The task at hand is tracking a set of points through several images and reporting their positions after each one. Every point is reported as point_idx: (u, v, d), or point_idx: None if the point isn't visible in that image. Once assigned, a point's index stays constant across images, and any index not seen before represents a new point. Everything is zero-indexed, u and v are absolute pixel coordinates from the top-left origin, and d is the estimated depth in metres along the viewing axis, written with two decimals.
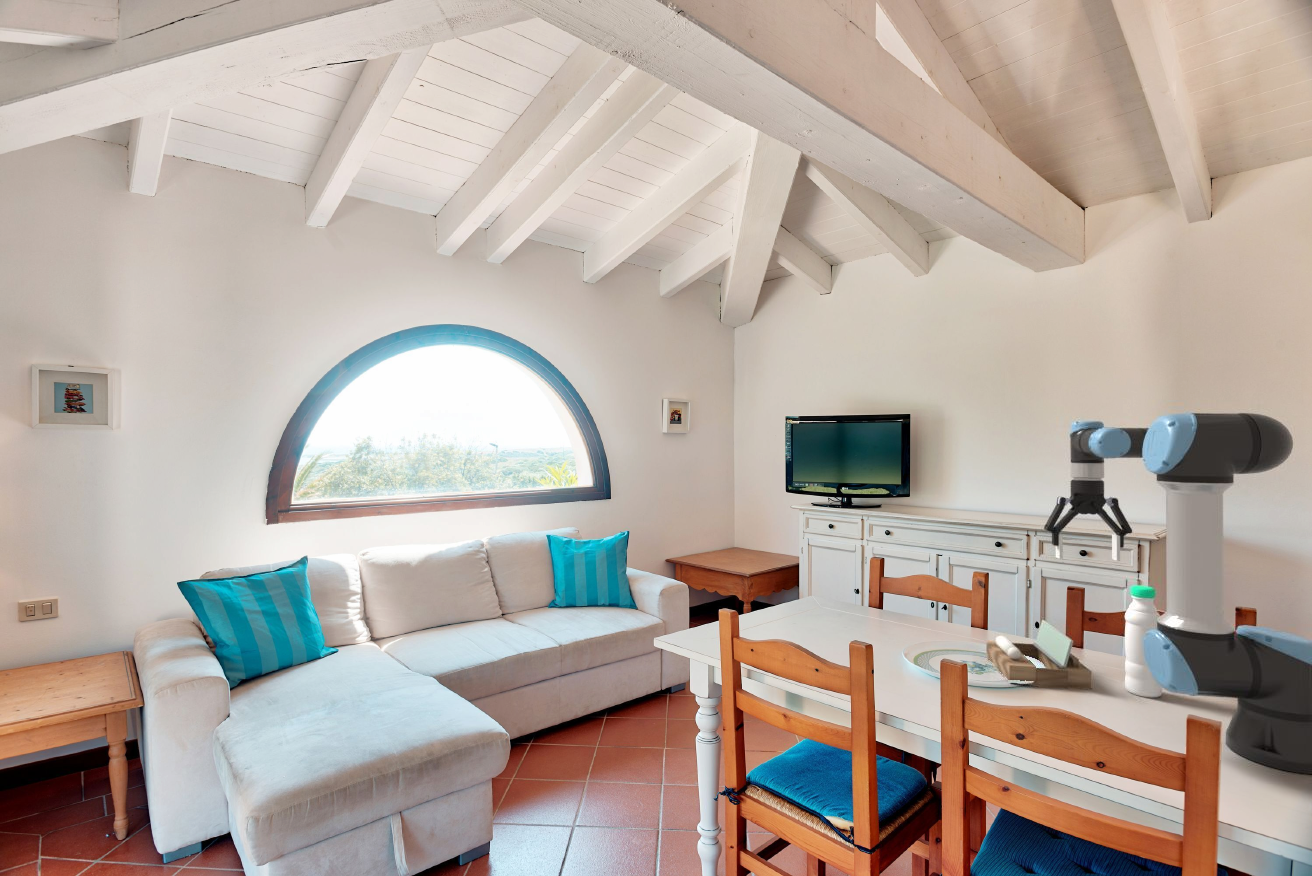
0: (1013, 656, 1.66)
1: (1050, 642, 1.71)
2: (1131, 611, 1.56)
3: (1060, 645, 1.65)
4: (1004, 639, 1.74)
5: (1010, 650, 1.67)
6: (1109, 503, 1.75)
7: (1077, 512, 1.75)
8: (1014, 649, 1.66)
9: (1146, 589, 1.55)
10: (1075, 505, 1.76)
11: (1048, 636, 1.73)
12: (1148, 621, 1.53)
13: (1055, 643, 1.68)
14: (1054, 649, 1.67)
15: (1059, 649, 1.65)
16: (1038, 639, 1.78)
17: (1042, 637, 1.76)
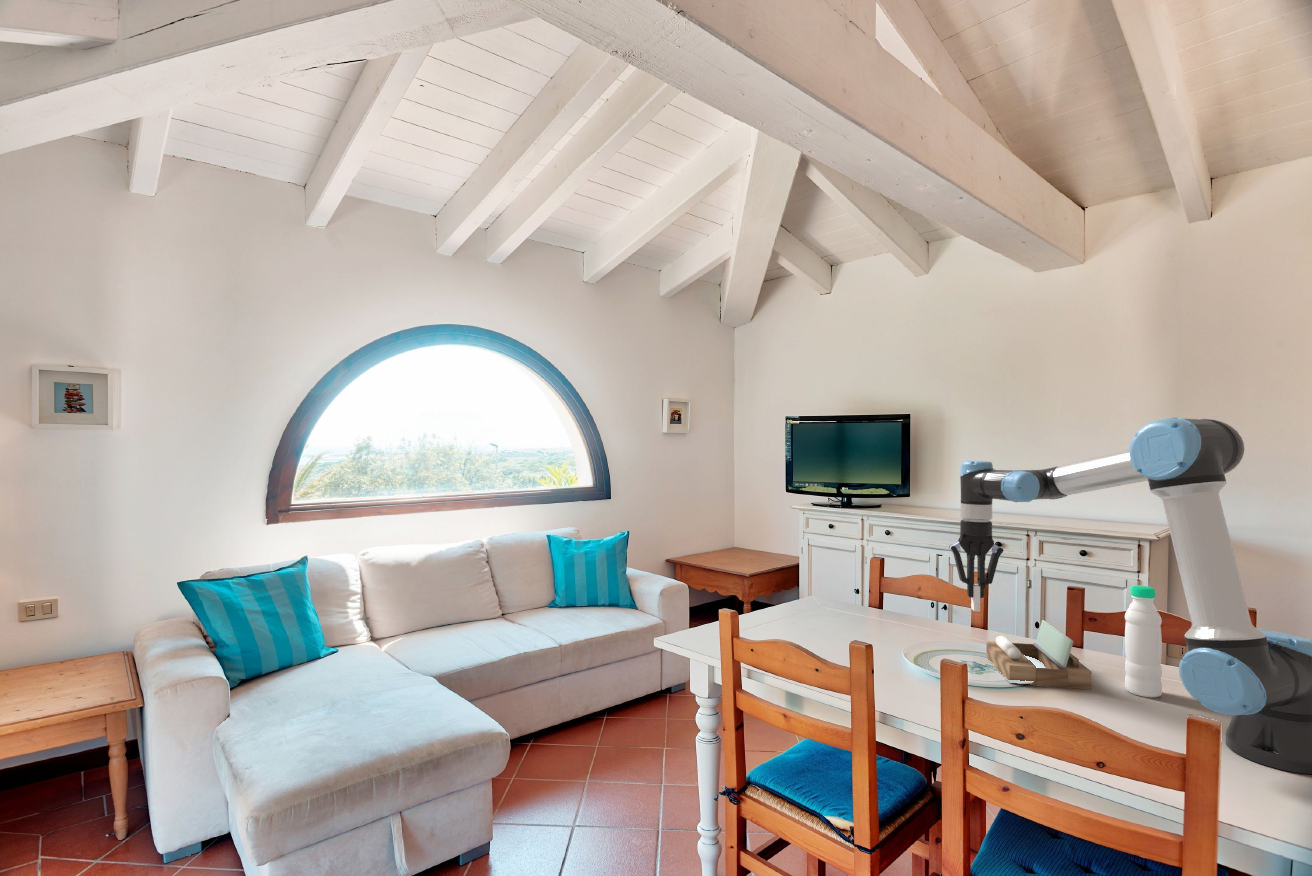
0: (1013, 656, 1.66)
1: (1050, 642, 1.71)
2: (1131, 611, 1.56)
3: (1060, 645, 1.65)
4: (1004, 639, 1.74)
5: (1010, 650, 1.67)
6: (994, 549, 1.72)
7: (973, 556, 1.72)
8: (1014, 649, 1.66)
9: (1146, 589, 1.55)
10: (963, 547, 1.73)
11: (1048, 636, 1.73)
12: (1148, 621, 1.53)
13: (1055, 643, 1.68)
14: (1054, 649, 1.67)
15: (1059, 649, 1.65)
16: (1038, 639, 1.78)
17: (1042, 637, 1.76)
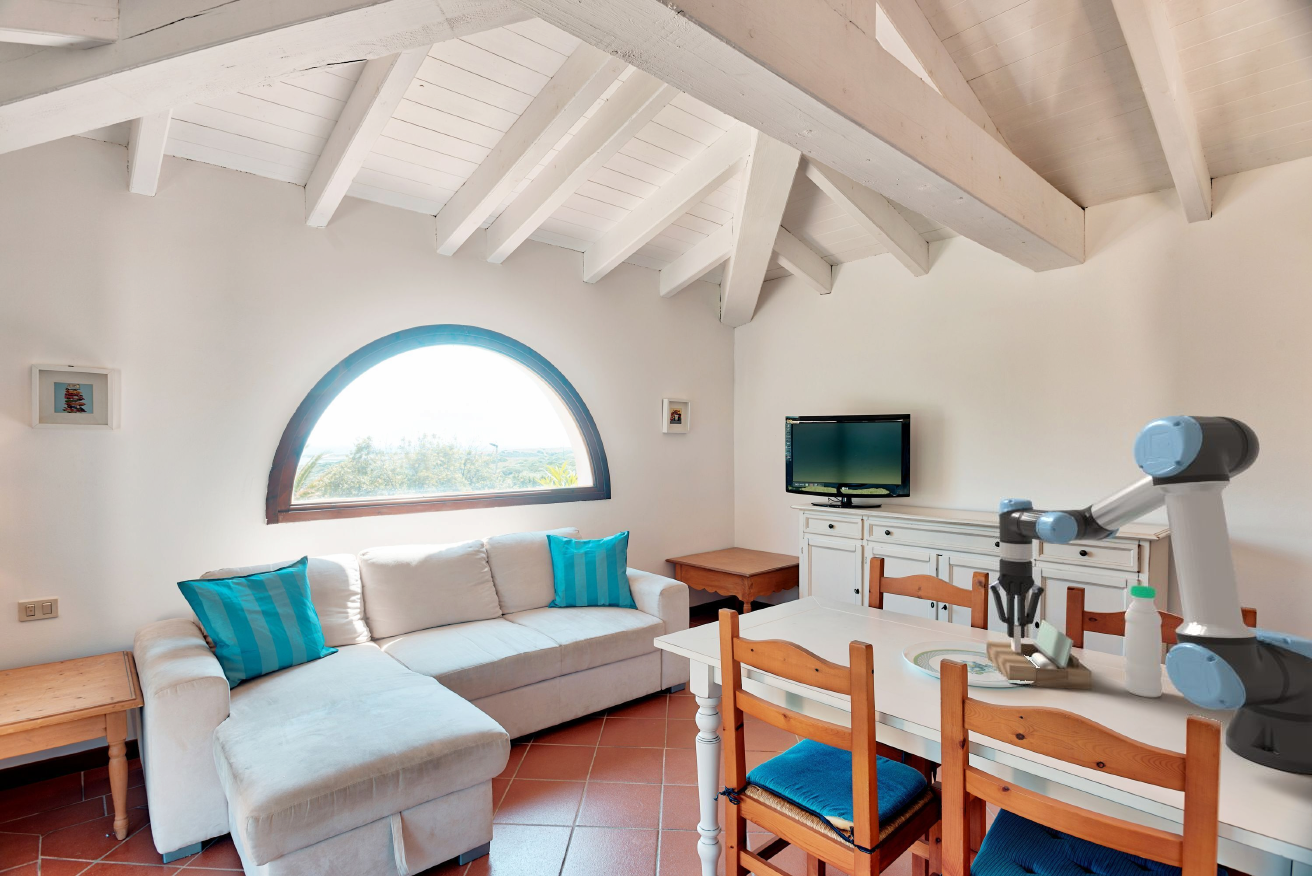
0: None
1: (1050, 642, 1.71)
2: (1131, 611, 1.56)
3: (1060, 645, 1.65)
4: (1042, 657, 1.72)
5: (1049, 668, 1.65)
6: (1034, 589, 1.70)
7: (1013, 596, 1.70)
8: (1054, 667, 1.64)
9: (1146, 589, 1.55)
10: (1003, 586, 1.71)
11: (1048, 636, 1.73)
12: (1148, 621, 1.53)
13: (1055, 643, 1.68)
14: (1054, 649, 1.67)
15: (1059, 649, 1.65)
16: (1038, 639, 1.78)
17: (1042, 637, 1.76)
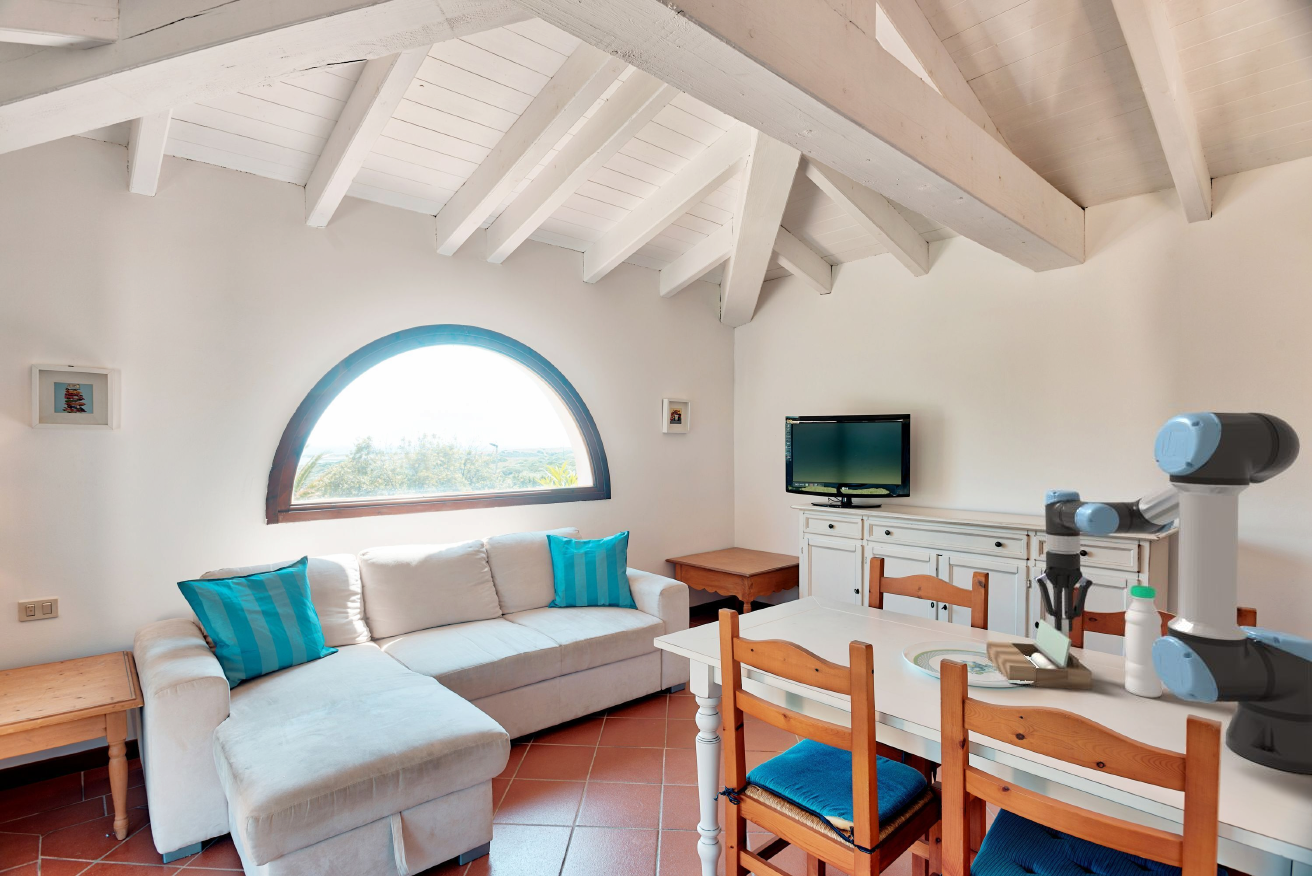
0: None
1: (1049, 642, 1.71)
2: (1131, 611, 1.56)
3: (1059, 645, 1.65)
4: (1042, 656, 1.72)
5: (1049, 668, 1.65)
6: (1082, 581, 1.68)
7: (1061, 589, 1.68)
8: (1053, 667, 1.64)
9: (1146, 589, 1.55)
10: (1050, 579, 1.69)
11: (1047, 636, 1.73)
12: (1148, 621, 1.53)
13: (1054, 643, 1.68)
14: (1053, 649, 1.67)
15: (1058, 649, 1.65)
16: (1038, 639, 1.78)
17: (1041, 637, 1.76)
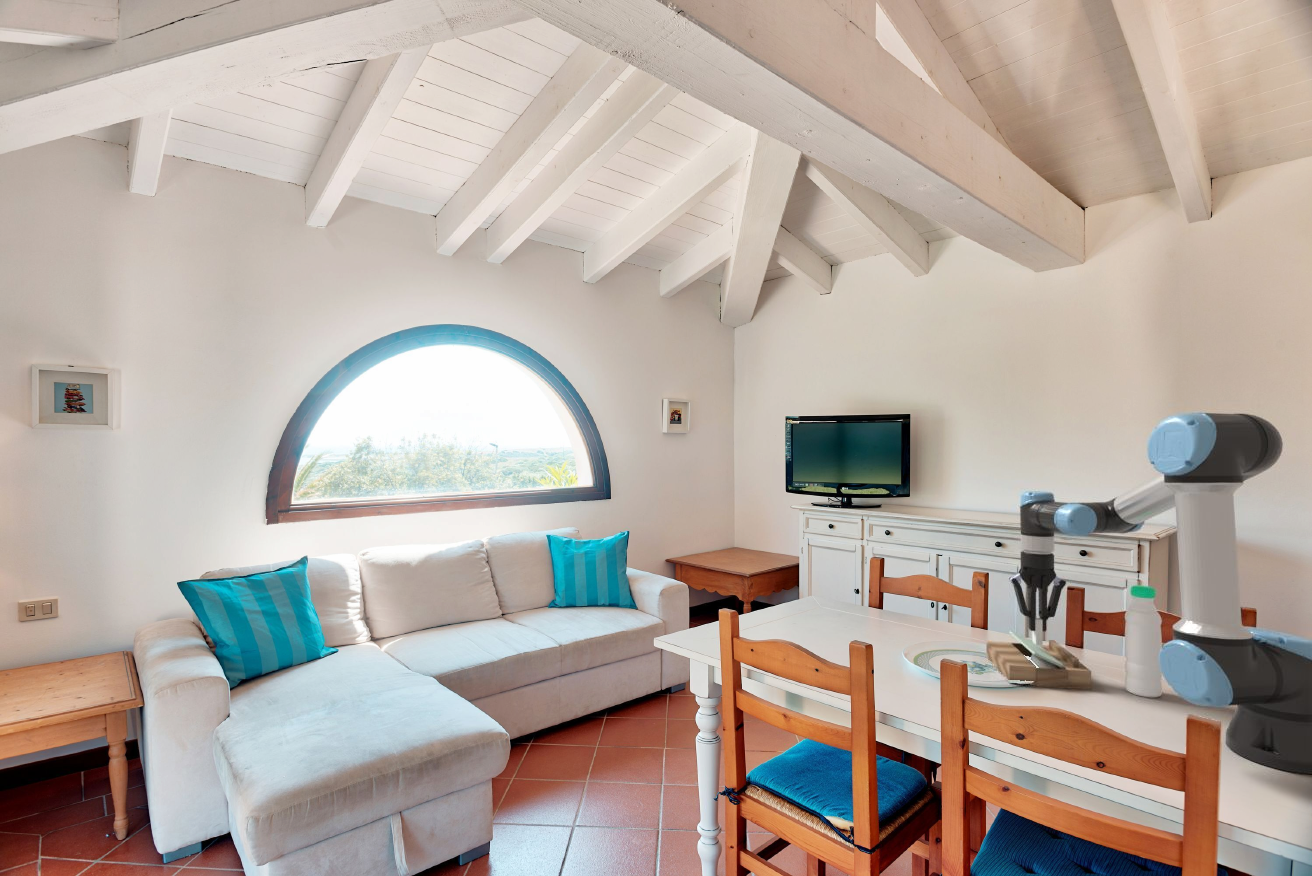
0: None
1: None
2: (1131, 611, 1.56)
3: None
4: None
5: None
6: (1056, 581, 1.69)
7: (1035, 589, 1.69)
8: (1053, 667, 1.64)
9: (1146, 589, 1.55)
10: (1024, 579, 1.70)
11: None
12: (1148, 621, 1.53)
13: None
14: None
15: None
16: None
17: None
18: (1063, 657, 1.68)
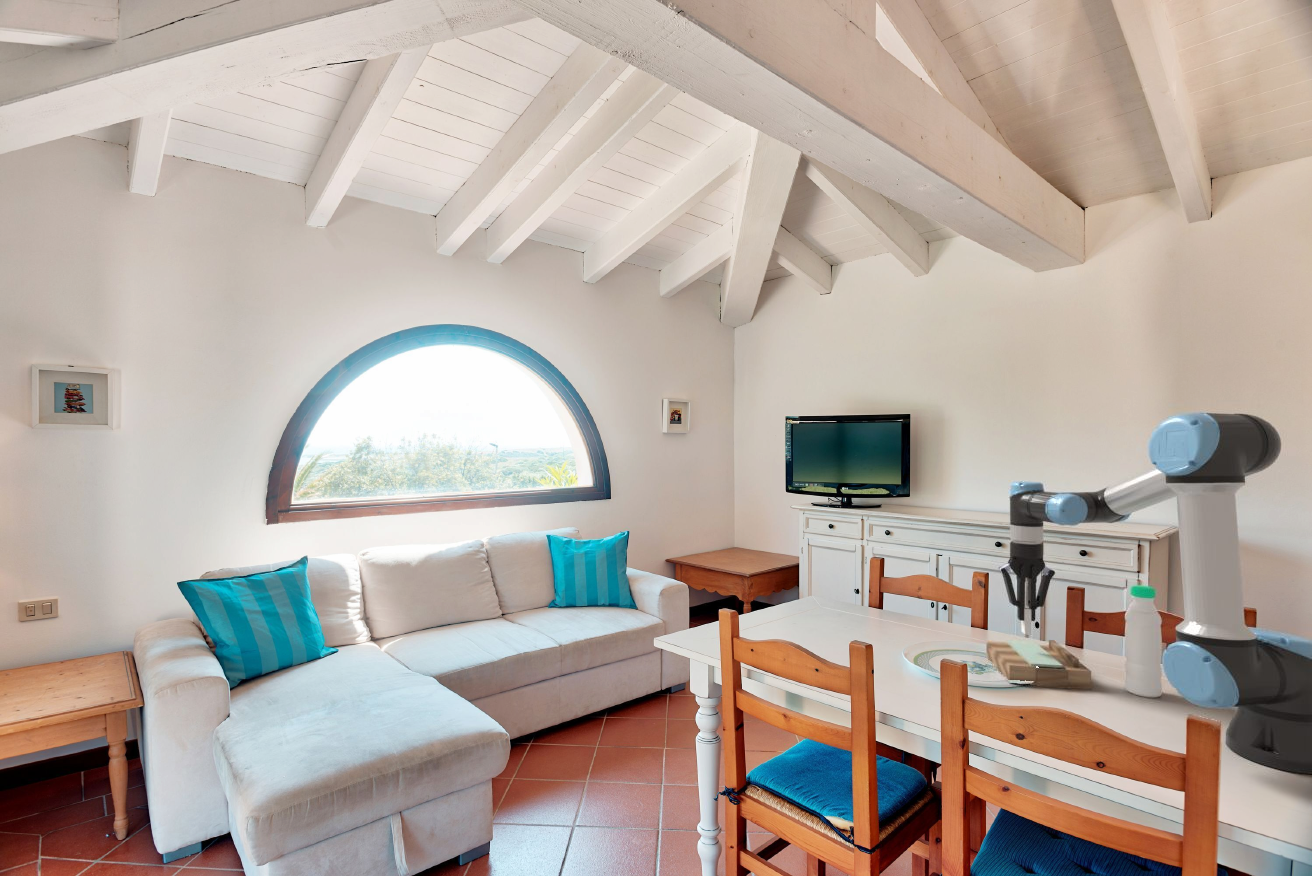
0: None
1: None
2: (1131, 611, 1.56)
3: None
4: None
5: None
6: (1045, 571, 1.70)
7: (1024, 578, 1.70)
8: (1052, 667, 1.65)
9: (1146, 589, 1.55)
10: (1013, 569, 1.71)
11: None
12: (1148, 621, 1.53)
13: None
14: None
15: None
16: None
17: None
18: (1063, 657, 1.68)
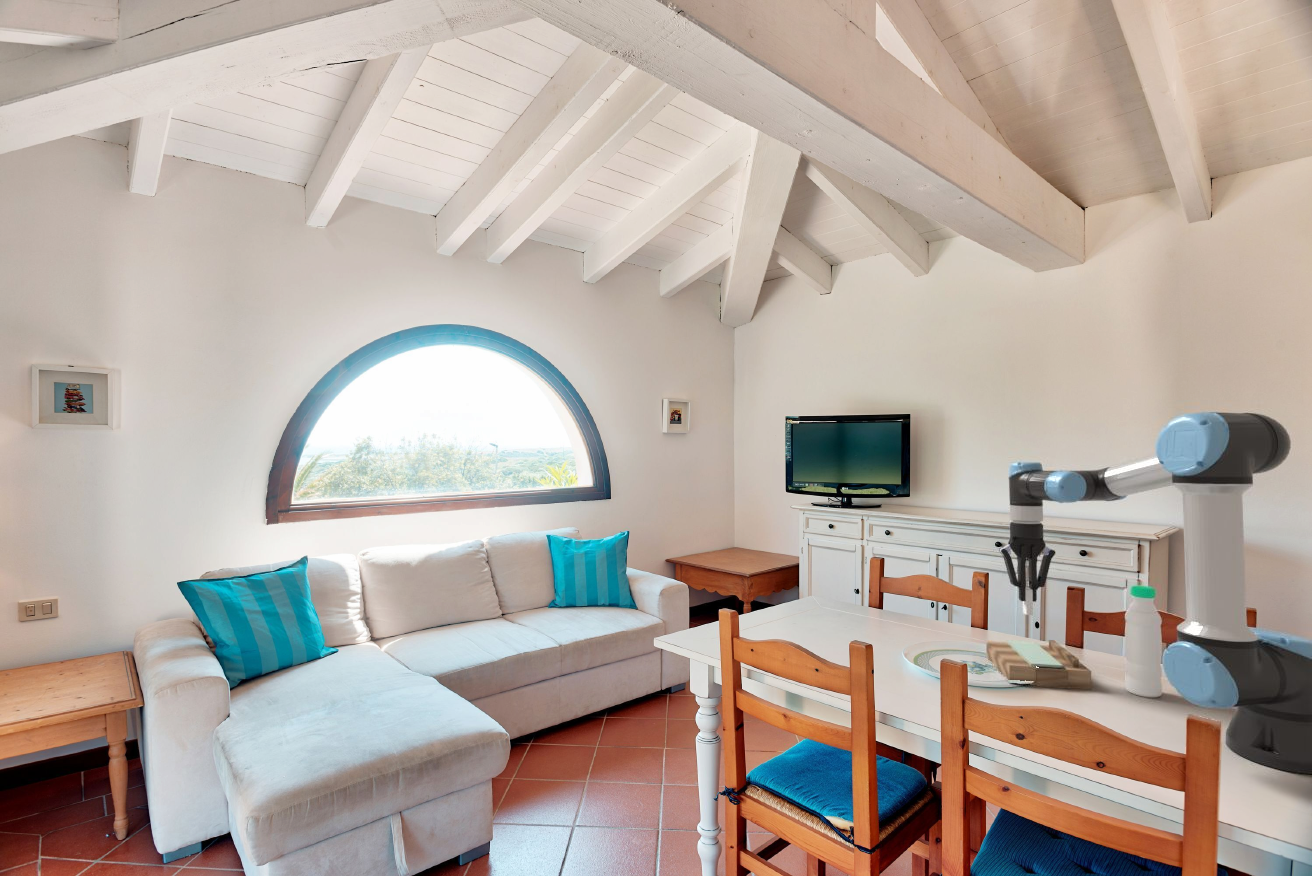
0: None
1: None
2: (1131, 611, 1.56)
3: None
4: None
5: None
6: (1045, 551, 1.70)
7: (1024, 559, 1.69)
8: (1052, 667, 1.65)
9: (1146, 589, 1.55)
10: (1014, 549, 1.71)
11: None
12: (1148, 621, 1.53)
13: None
14: None
15: None
16: None
17: None
18: (1063, 657, 1.68)
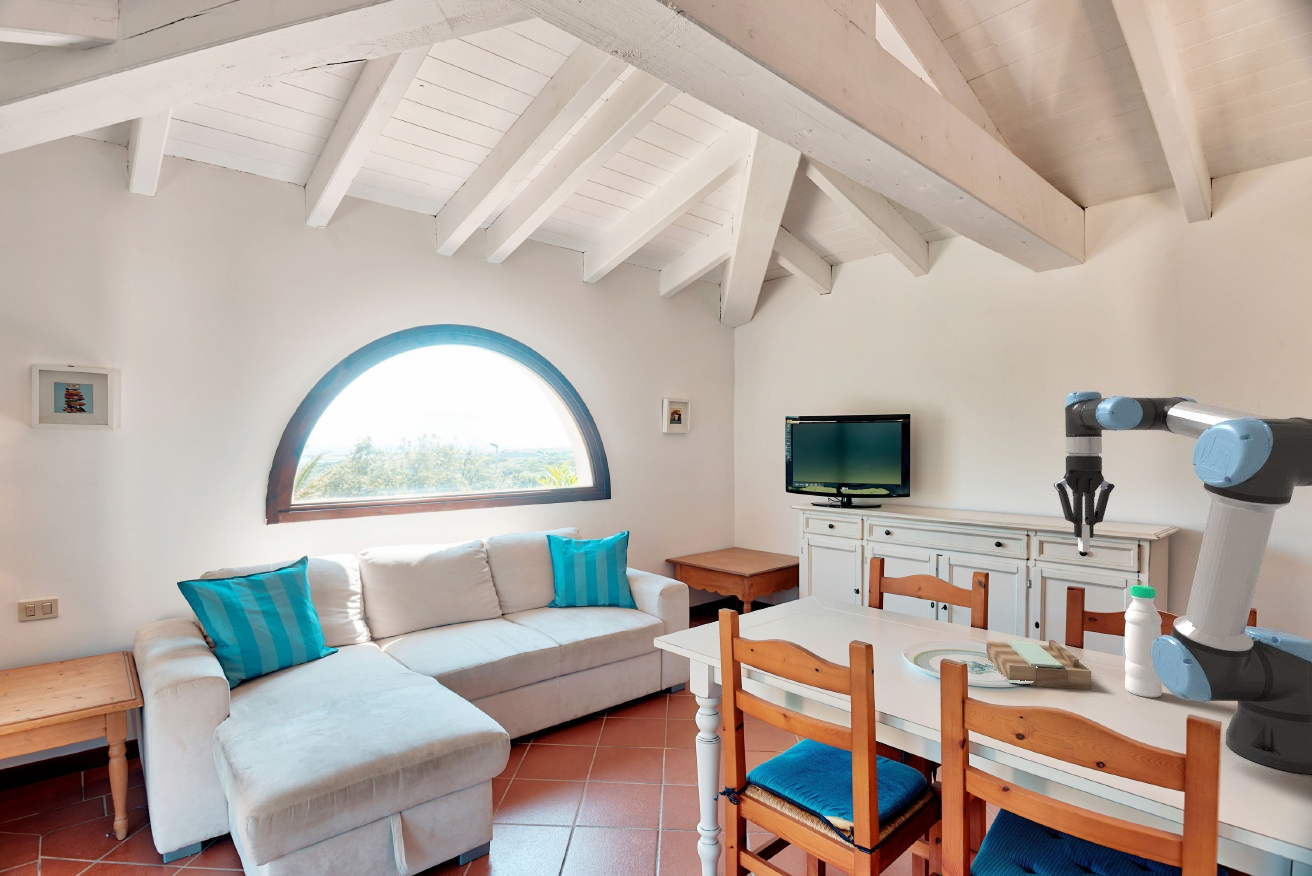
0: None
1: None
2: (1131, 611, 1.56)
3: None
4: None
5: None
6: (1103, 485, 1.62)
7: (1081, 493, 1.62)
8: (1051, 667, 1.65)
9: (1146, 589, 1.55)
10: (1070, 483, 1.63)
11: None
12: (1148, 621, 1.53)
13: None
14: None
15: None
16: None
17: None
18: (1063, 657, 1.68)
